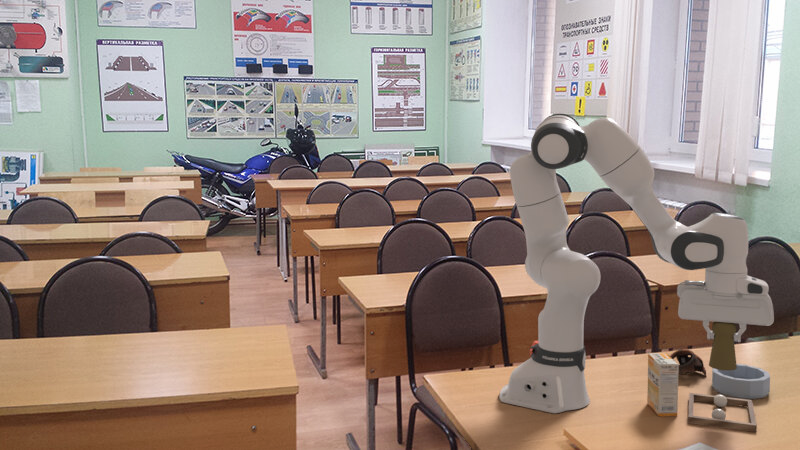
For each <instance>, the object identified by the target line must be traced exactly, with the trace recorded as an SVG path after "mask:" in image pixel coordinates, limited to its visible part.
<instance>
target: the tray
mask: <svg viewBox="0 0 800 450" xmlns="http://www.w3.org/2000/svg"><path fill="white" fill-rule="evenodd" d="M688 395H689V396H688V397H689V399H688V422H689V423H688V422H687V423H688V424H692V423H694V424H695V425H701V426H708V427H715V428H724V429H731V430H740V431H746V432H753V431H755V432H754V433H757V428H758V425H757V419H756V415H755V410H754V405H753V399H742V398H735V397H730V396H725V397H726V399H727V404H726V406H729V405H730V406H738V407H740V406H739V405H742V406H741V407H744V406H747V407H748V408H747V407H746V408H747V414H748V413H749V414H748V419H750V420H749V422H746V421H745V422H744V421H738V420H729V419H725V420H723V419H715V418H712V417H707V416H706V417H705V416H697V415H694V402H702V403H710V404H715V403H714V397H715V396H716V395H710V394H703V393H693V392H688ZM694 424H693V425H694Z"/></svg>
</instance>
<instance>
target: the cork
mask: <svg viewBox="0 0 800 450" xmlns="http://www.w3.org/2000/svg"><path fill="white" fill-rule="evenodd" d="M711 331H713V333H714V340H712V346H711V350H710V351H711V352H710V357H709V361H708V366H709V367H711V368H714V369H718V370H728V371H730V370H735V369H737V365H736V364H737V357H736V348H735V342H734V334H735V333H737V325H736V323H726V322H712V324H711Z"/></svg>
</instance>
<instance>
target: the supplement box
mask: <svg viewBox="0 0 800 450" xmlns="http://www.w3.org/2000/svg"><path fill="white" fill-rule="evenodd" d="M678 372H679V362H678V361H676V360H675V359H672V358H671V357H670V354H668V353H667V352H660V353H659V352H656V353H655V352H653V353H651V352H650V353H649V352H648V353H647V399H646V400H647V402H646V403H647V405H648V406H649V407H650V408H652V410H653V411H654V412H655V414H656V415H657V416H658V417H677V416H678V411H679V410H678V407H679V406H678V405H679V404H678V403H679V399H678V398H679V397H678V396H679V374H678Z"/></svg>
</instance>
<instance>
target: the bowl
mask: <svg viewBox="0 0 800 450" xmlns="http://www.w3.org/2000/svg"><path fill="white" fill-rule="evenodd" d="M736 365H737V369H735V370H730V371H728V370H718V369H714V368H712V367H711V368H712V369H711V370H712V371H711V372H712V375H711V377H712V378H711V383H712V384H711V386H712V389H713V391H715V392H717V393H719V394H720V395H724V396H726V397H729V398H738V399H747V400H758V399H763V398H766V397H767V396H769V393H770V391H771V389H770V388H771V387H770V386H771V375H770V373H769V371H767V370H765V369H763V368H760V367H757V366H754V365H750V364H749V365H748V364H741V363H736Z"/></svg>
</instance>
